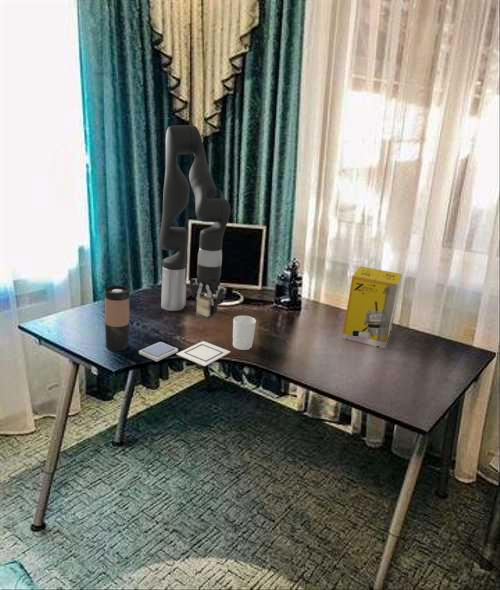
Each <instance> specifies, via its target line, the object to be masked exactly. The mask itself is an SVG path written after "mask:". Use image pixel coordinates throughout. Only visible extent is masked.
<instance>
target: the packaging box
mask: <svg viewBox="0 0 500 590" xmlns="http://www.w3.org/2000/svg"><path fill="white" fill-rule="evenodd" d="M402 278H403V273H397V272H391V271H386V270H381V269H376V268H370V267H365V266H359V267H358V268H357V270H356V271H355V272H354V274H353V275H352V277H351V282H350V283H351V284H350V289H349V296H348V300H347V307H346V311H345V312H346V313H345V320H344V325H343V331H342V335H343V334H348V335H353V336H359V337H364V338H368V339H372V340H376V341H381V342H386V343H387V340H388V337H389V334H390V331H391V332H392V329H393V323H394V318H395V314H396V310H397V309H396V308H397V304H398V299H399V294H400V290H401V284H402ZM390 335H391V334H390ZM389 338H390V337H389ZM388 341H389V340H388ZM387 344H388V343H387Z"/></svg>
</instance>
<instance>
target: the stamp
mask: <svg viewBox="0 0 500 590" xmlns="http://www.w3.org/2000/svg"><path fill="white" fill-rule="evenodd" d="M210 305H211V303H210V299H209V297H208V294H205V296H202V297H199V298H197V300H196V311H195V312H196V313H195V316H196V317H199V318H202V319H205V320H210V319H212V318H214V317H216V316H217V313H218V312H217V313H216V314H215V315H213V316H210Z"/></svg>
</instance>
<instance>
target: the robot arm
mask: <svg viewBox="0 0 500 590" xmlns="http://www.w3.org/2000/svg"><path fill="white" fill-rule="evenodd" d="M192 154H193V156H194V159H193V162H192V165H191V166H190V169H189V174H188V179H189V181H188V179H187V178H186V176H185V174H184V173H183V171H182V170H181V168H180V166H179V164H178V156H179V155H192ZM206 155H207V154H206V151H205V147H204V143H203V140H202V136H201V132H200V130H199V128H198V127H197V126H196V125H192V124H189V125H187V124H186V125H185V124H182V125H170V126H168V128H167V130H166V132H165V173H164V184H163V191H162V192H163V194H162V197H163V199H162V216H161V224H160V231H159V239H158V240H159V246H160V248H161V250H163V251H171V252H172V251H173V252H174V251H175V254H173V255H171V256H168V257H165V258H164V259H163V260H162V269H161V270H162V274H161V275H162V276H161V295H160V296H161V297H160V298H161V302H160V303H161V304H160V307H161V309H163V310H165V311H170V312H176V311H182V310H183V309H184V308H185V307H186V302H187V301H186V299H187V297H186V296H187V284H186V268H187V267H186V266H187V253H188V252H187V250H188V240H189V232H188V229H187V227H181V226H172V225H173V222H175V219H176V218H177V217H178V216H179V215H180V214H182V212H184V210H185V209H186V207H187V206H188V204H189V202H190V201H189V199H190V193H191V192H190V191H191V189H192V192H193V195H194V202H195V207H194V208H195V209H194V211H195V216H196V217H197V219H198V220H199V221H201V222H203V223H213V224H212V225H211V226H209V227H206V228H203V229H202V230H200V233H199V242H198V243H199V246H198V247H199V249H198V252H197V262H196V263H197V264H196V266H197V268H196V269H197V270H196V276H197V277H195V278H191V279H189V285H190V291H191V292H190V293H191V297H192V298H195V300H196V301H197V298H199V297H202V296H205V295H208V297H209V299H210V303H211V305H210V316H213V315H215V314H216V313H218V312H217V311H218V305H222V304H223V303H224V300H225V297H226V294H227V292H228V288H227V286H226V287H224V286H222V285H221V281H220V279H221V275H222V266H223V265H222V264H223V263H222V262H223V250H222V249H223V240H224V239H223V238H224V235H225V231H226V227H227V225H228V222H229V219H230V216H231V211H232V209H231V205H230V203H229V201H228V200H227V199H226V198H224V197H223V198H222V197H221V198H220V197H219V198H216V195H217V186H216V184H215V181H214V179H213V177H212V175H211V172H210V168H209V165H208V161H207V156H206ZM190 187H191V188H190ZM176 251H177V252H176ZM216 315H217V314H216Z"/></svg>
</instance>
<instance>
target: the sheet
mask: <svg viewBox="0 0 500 590" xmlns="http://www.w3.org/2000/svg"><path fill="white" fill-rule="evenodd" d="M230 353H231V350H227V349H225V348H222V347H220V346H217V345H216V344H215V345H214V344H213V343H210V342H206V341H204V340H202V341H200V342H198V343H195V344H193V345H192V346H189V347H188V348H185V349H183V350H181V351H178V352H176V353H175V354H176V355H177V356H179V357H181V358H183V359H186V360H189V361H191V362H193V363H195V364H198V365H200V366H203V367H206V366H208V365H210V364H212V363H214V362H216V361H218V360H219V359H221V358H223V357H225V356H227V355H229V354H230Z"/></svg>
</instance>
